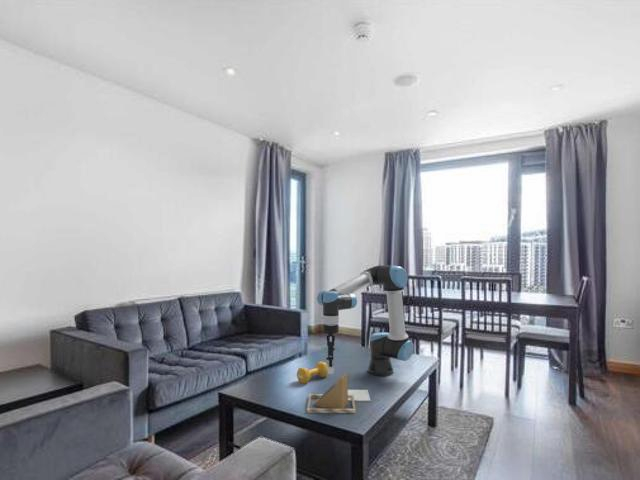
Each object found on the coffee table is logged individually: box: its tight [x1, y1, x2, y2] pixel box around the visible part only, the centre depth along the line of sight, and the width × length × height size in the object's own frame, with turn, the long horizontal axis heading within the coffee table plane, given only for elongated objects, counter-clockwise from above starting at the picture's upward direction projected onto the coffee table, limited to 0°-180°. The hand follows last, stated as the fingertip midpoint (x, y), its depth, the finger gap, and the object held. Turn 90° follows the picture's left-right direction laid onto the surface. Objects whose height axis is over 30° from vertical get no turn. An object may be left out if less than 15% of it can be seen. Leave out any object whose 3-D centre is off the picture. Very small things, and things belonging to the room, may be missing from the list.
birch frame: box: [306, 393, 357, 414], centre depth 173 cm, size 22×17×2 cm
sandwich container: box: [312, 372, 349, 409], centre depth 174 cm, size 9×15×15 cm, turn 66°
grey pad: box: [348, 389, 371, 403], centre depth 183 cm, size 13×13×1 cm
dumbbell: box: [296, 361, 328, 385], centre depth 207 cm, size 19×9×8 cm, turn 134°
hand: (330, 368), depth 173 cm, fingers open, 13 cm apart
